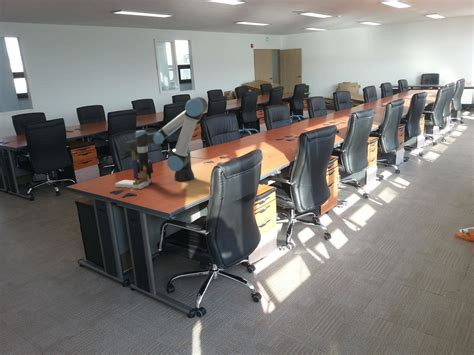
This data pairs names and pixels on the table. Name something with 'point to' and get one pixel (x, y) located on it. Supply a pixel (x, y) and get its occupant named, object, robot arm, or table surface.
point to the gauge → (141, 177)
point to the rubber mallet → (132, 147)
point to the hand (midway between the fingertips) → (146, 182)
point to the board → (131, 184)
